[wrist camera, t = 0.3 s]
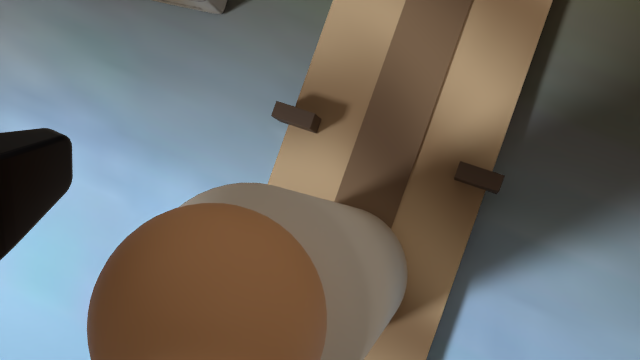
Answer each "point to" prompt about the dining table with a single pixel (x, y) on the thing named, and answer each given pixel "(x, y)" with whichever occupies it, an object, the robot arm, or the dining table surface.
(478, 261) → the dining table surface
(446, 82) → the level stand
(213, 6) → the coffee box
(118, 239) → the dining table surface
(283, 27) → the dining table surface
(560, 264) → the dining table surface
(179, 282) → the post
